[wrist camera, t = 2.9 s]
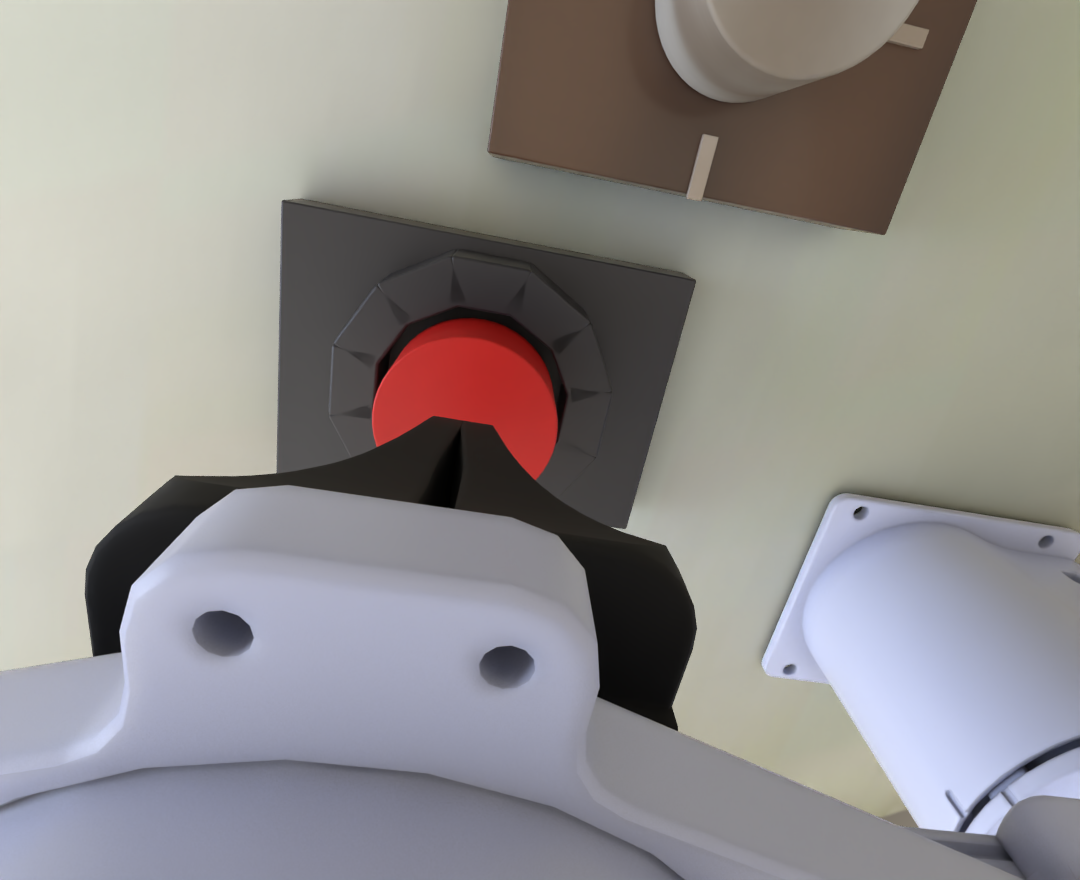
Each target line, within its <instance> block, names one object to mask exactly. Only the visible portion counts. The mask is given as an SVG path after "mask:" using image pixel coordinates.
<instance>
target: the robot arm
mask: <svg viewBox="0 0 1080 880" xmlns="http://www.w3.org/2000/svg"><path fill="white" fill-rule="evenodd" d="M862 506H863V508H862V510H861V511H860V512H858V513H857V514H854V511H855V510H856V509H857V508H859V507H862ZM1041 538H1042V539H1041ZM1040 539H1041V540H1040ZM1079 553H1080V533H1078V532H1077V531H1075V530H1073V529H1070V528H1064V527H1057V526H1051V525H1045V524H1039V523H1032V522H1026V521H1020V520H1013V519H1007V518H1001V517H995V516H988V515H982V514H976V513H969V512H963V511H957V510H951V509H944V508H938V507H932V506H925V505H919V504H913V503H906V502H900V501H894V500H888V499H881V498H875V497H869V496H862V495H856V494H850V493H842V494H839V495H837V496H835V497H834V498H833V499H832V500H831V501H830V503H829V505H828V507H827V509H826V512H825V514H824V516H823V519H822V521H821V523H820V526H819V528H818V530H817V533H816V535H815V537H814V540H813V542H812V544H811V547H810V549H809V551H808V554H807V556H806V558H805V561H804V563H803V565H802V568H801V570H800V572H799V575H798V577H797V579H796V582H795V584H794V586H793V589H792V591H791V593H790V596H789V598H788V600H787V603H786V605H785V607H784V610H783V612H782V614H781V617H780V619H779V621H778V624H777V626H776V628H775V631H774V633H773V635H772V638H771V640H770V642H769V645H768V647H767V649H766V652H765V654H764V656H763V659H762V663H761V664H762V667H763V669H764V671H765V673H766V674H767V675H768V676H772V677H778V678H786V679H794V680H802V681H810V682H818V683H826V684H830V685H831V687H832V688H833V690H834V691H835V693H836V695H837V696H838V698H839V699H840V701H841V703H842V704H843V706H844V708H845V709H846V711H847V712H848V714H849V716H850V717H851V719H852V720H853V722H854V724H855V725H856V727H857V729H858V730H859V732H860V733H861V735H862V737H863V738H864V740H865V741H866V743H867V745H868V746H869V748H870V750H871V751H872V753H873V754H874V756H875V758H876V759H877V761H878V762H879V764H880V766H881V767H882V769H883V771H884V772H885V774H886V775H887V777H888V779H889V780H890V782H891V783H892V785H893V787H894V788H895V790H896V792H897V793H898V795H899V796H900V798H901V800H902V801H903V803H904V804H905V806H906V808H907V809H908V811H909V812H910V814H911V816H912V817H913V819H914V820H915V822H916V824H917V825H918V827H919V828H913V827H903V826H898V825H895V824H893V823H891V822H888V821H886V820H884V819H881V818H879V817H877V816H874V815H872V814H870V813H867V812H865V811H863V810H860V809H858V808H856V807H853V806H851V805H849V804H846V803H844V802H842V801H839V800H837V799H834V798H832V797H830V796H827V795H825V794H823V793H820V792H818V791H816V790H813V789H811V788H809V787H806V786H804V785H802V784H799V783H797V782H795V781H792V780H790V779H788V778H785V777H783V776H781V775H778V774H776V773H774V772H771V771H769V770H767V769H764V768H762V767H760V766H757V765H755V764H753V763H750V762H748V761H746V760H743V759H741V758H739V757H736V756H734V755H732V754H729V753H727V752H725V751H722V750H720V749H718V748H715V747H713V746H711V745H708V744H706V743H704V742H701V741H699V740H697V739H694V738H692V737H690V736H687V735H685V734H683V733H680V732H678V726H677V723H676V719H675V716H674V712H673V709H672V704H673V702H674V699H675V696H676V693H677V691H678V688H679V685H680V683H681V680H682V677H683V674H684V672H685V669H686V666H687V663H688V661H689V658H690V655H691V653H692V650H693V645H694V640H695V635H696V630H697V626H696V618H695V610H694V605H693V603H692V600H691V598H690V595H689V593H688V591H687V588H686V585H685V583H684V581H683V578H682V576H681V574H680V572H679V569H678V567H677V566H676V564H675V562H674V560H673V558H672V556H671V554H670V553H669V551H668V549H667V547H666V546H665V545H662V544H658V543H655V542H652V541H649V540H646V539H642V538H639V537H636V536H633V535H629V534H626V533H623V532H621V531H618V530H616V529H614V528H611V527H609V526H607V525H604V524H602V523H600V522H597V521H595V520H593V519H591V518H589V517H587V516H585V515H584V514H582V513H580V512H578V511H577V510H575V509H573V508H572V507H570V506H568V505H567V504H565V503H564V502H562V501H561V500H559V499H558V498H556V497H555V496H554V495H552V494H551V493H550V492H549V491H547V490H546V489H545V488H544V487H542V486H541V485H540V484H539V483H538V482H537V481H536V480H534V479H533V478H532V477H531V476H530V474H529V473H528V472H527V471H526V470H525V469H524V468H523V467H522V466H521V465H520V464H519V463H518V461H517V460H516V459H515V458H514V456H513V455H512V454H511V452H510V451H509V450H508V448H507V447H506V445H505V444H504V442H503V440H502V439H501V437H500V436H499V434H498V432H497V431H496V429H495V428H494V426H493V425H489V424H482V423H476V422H470V421H464V420H457V419H451V418H445V417H439V416H432V417H430V418H429V419H427V420H425V421H424V422H422V423H421V424H419V425H417V426H416V427H414V428H413V429H411V430H409V431H407V432H406V433H404V434H402V435H401V436H399V437H397V438H395V439H393V440H391V441H389V442H387V443H385V444H383V445H381V446H378V447H376V448H374V449H372V450H370V451H368V452H365V453H363V454H360V455H357V456H354V457H351V458H348V459H345V460H342V461H339V462H335V463H331V464H327V465H322V466H317V467H312V468H307V469H303V470H298V471H292V472H284V473H276V474H266V475H252V476H174V477H173V478H172V479H170V480H169V481H168V482H166V483H165V484H164V485H163V486H162V487H161V488H159V489H158V490H157V491H156V492H155V493H153V494H152V495H151V496H150V497H149V498H147V499H146V500H145V501H144V502H143V503H142V504H141V505H139V506H138V507H137V508H136V509H135V510H134V511H132V512H131V513H130V514H129V515H128V516H127V517H126V518H124V519H123V520H122V521H121V522H120V523H119V524H117V525H116V526H115V527H114V528H113V529H112V530H111V531H110V532H109V533H108V534H107V535H106V536H105V537H104V538H103V539H102V540H101V541H100V543H99V544H98V545H97V546H96V547H95V550H94V552H93V554H92V557H91V559H90V561H89V563H88V566H87V568H86V580H85V599H86V607H87V614H88V622H89V629H90V637H91V644H92V652H93V657H88V658H82V659H75V660H69V661H63V662H56V663H50V664H44V665H37V666H31V667H25V668H18V669H12V670H6V671H0V880H1080V565H1079V564H1077V563H1076V562H1074V561H1075V559H1076V557H1077V556H1078V554H1079ZM789 664H791V665H790V666H788V667H785V666H787V665H789Z"/></svg>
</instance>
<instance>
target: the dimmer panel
mask: <svg viewBox="0 0 1080 880" xmlns="http://www.w3.org/2000/svg"><path fill="white" fill-rule="evenodd" d="M976 2H977V0H919V1H918V3H917V5H916V6H915V8H914V9H913V11H912V12H911V14H910V15H909V17H908V18H907V19H906V21H905V22H904V23H903V24H902V26H901V27H900V28H899V29H898V30H897V32H896V33H895V34H894V35H893V36H892V37H891V38H890V39H889V40H888V41H887V42H886V43H885V44H884V45H883V46H882V47H881V48H879V49H878V50H877V51H876V52H874V53H873V54H872V55H871V56H869V57H868V58H866V59H865V60H863V61H862V62H860V63H858V64H857V65H855V66H853V67H851V68H849V69H847V70H845V71H843V72H840V73H838V74H835V75H832V76H829V77H826V78H823V79H820V80H817V81H814V82H811V83H808V84H805V85H802V86H799V87H796V88H793V89H790V90H787V91H784V92H781V93H778V94H775V95H772V96H769V97H766V98H763V99H760V100H757V101H752V102H745V103H729V102H722V101H718V100H715V99H712V98H709V97H707V96H705V95H703V94H701V93H699V92H698V91H696V90H695V89H693V88H692V87H690V86H689V85H688V84H687V83H686V82H685V81H684V80H683V79H682V78H681V77H680V76H679V74H678V73H677V72H676V71H675V69H674V68H673V66H672V65H671V63H670V61H669V60H668V58H667V56H666V53H665V51H664V49H663V46H662V44H661V40H660V37H659V33H658V28H657V22H656V12H655V0H508V7H507V14H506V21H505V28H504V35H503V43H502V50H501V57H500V64H499V71H498V79H497V86H496V93H495V100H494V107H493V115H492V122H491V129H490V136H489V143H488V152H489V153H490V154H491V155H492V156H493V157H497V158H502V159H506V160H511V161H516V162H521V163H526V164H530V165H535V166H540V167H545V168H550V169H555V170H559V171H564V172H569V173H574V174H579V175H583V176H588V177H593V178H598V179H603V180H607V181H612V182H617V183H622V184H627V185H632V186H636V187H641V188H646V189H651V190H656V191H660V192H665V193H670V194H675V195H680V196H684V197H686V199H691V200H696V201H702V200H704V201H709V202H713V203H718V204H723V205H728V206H733V207H737V208H742V209H747V210H752V211H757V212H761V213H766V214H771V215H776V216H781V217H786V218H790V219H795V220H800V221H805V222H810V223H814V224H819V225H824V226H829V227H834V228H839V229H846V230H853V231H860V232H866V233H873V234H880V235H885V234H886V232H887V229H888V226H889V224H890V221H891V219H892V216H893V214H894V211H895V209H896V206H897V204H898V201H899V198H900V196H901V193H902V191H903V188H904V186H905V183H906V181H907V178H908V175H909V173H910V170H911V168H912V165H913V163H914V160H915V158H916V155H917V152H918V150H919V147H920V145H921V142H922V140H923V137H924V135H925V132H926V130H927V127H928V124H929V122H930V119H931V117H932V114H933V112H934V109H935V107H936V104H937V101H938V99H939V96H940V94H941V91H942V89H943V86H944V84H945V81H946V79H947V76H948V73H949V71H950V68H951V66H952V63H953V61H954V58H955V56H956V53H957V50H958V48H959V45H960V43H961V40H962V38H963V35H964V33H965V30H966V27H967V25H968V22H969V20H970V17H971V15H972V12H973V10H974V7H975V5H976Z"/></svg>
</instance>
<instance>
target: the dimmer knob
mask: <svg viewBox="0 0 1080 880" xmlns="http://www.w3.org/2000/svg"><path fill="white" fill-rule="evenodd" d="M918 1H919V0H655V12H656V22H657V28H658V33H659V37H660V40H661V44H662V46H663V49H664V51H665V53H666V56H667V58H668V60H669V61H670V63H671V65H672V66H673V68H674V69H675V71H676V72H677V73H678V74H679V76H680V77H681V78H682V79H683V80H684V81H685V82H686V83H687V84H688V85H689V86H690V87H692V88H693V89H695V90H696V91H698V92H699V93H701V94H703V95H705V96H707V97H709V98H712V99H715V100H718V101H722V102H729V103H745V102H752V101H757V100H760V99H763V98H766V97H769V96H772V95H775V94H778V93H781V92H784V91H787V90H790V89H793V88H796V87H799V86H802V85H805V84H808V83H811V82H814V81H817V80H820V79H823V78H826V77H829V76H832V75H835V74H838V73H840V72H843V71H845V70H847V69H849V68H851V67H853V66H855V65H857V64H858V63H860V62H862V61H863V60H865V59H866V58H868V57H869V56H871V55H872V54H873V53H874V52H876V51H877V50H878V49H879V48H881V47H882V46H883V45H884V44H885V43H886V42H887V41H888V40H889V39H890V38H891V37H892V36H893V35H894V34H895V33H896V32H897V30H898V29H899V28H900V27H901V26H902V24H903V23H904V22H905V21H906V19H907V18H908V17H909V15H910V14H911V12H912V11H913V9H914V8H915V6H916V5H917V3H918Z"/></svg>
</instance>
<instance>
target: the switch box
mask: <svg viewBox="0 0 1080 880" xmlns="http://www.w3.org/2000/svg"><path fill="white" fill-rule="evenodd" d="M695 283H696V280H695V279H693V278H691V277H689V276H687V275H686V274H684V273H681V272H676V271H671V270H666V269H661V268H655V267H650V266H645V265H640V264H635V263H630V262H624V261H619V260H614V259H609V258H604V257H599V256H594V255H588V254H583V253H578V252H573V251H568V250H563V249H557V248H552V247H547V246H542V245H537V244H532V243H526V242H521V241H516V240H511V239H506V238H501V237H496V236H490V235H485V234H480V233H475V232H470V231H465V230H459V229H454V228H449V227H444V226H439V225H434V224H429V223H423V222H418V221H413V220H408V219H403V218H398V217H392V216H387V215H382V214H377V213H372V212H367V211H361V210H356V209H351V208H346V207H341V206H336V205H331V204H325V203H320V202H315V201H310V200H305V199H292V200H283V201H282V207H281V261H280V315H279V369H278V424H277V473H284V472H292V471H298V470H303V469H307V468H312V467H317V466H322V465H327V464H331V463H335V462H339V461H342V460H345V459H348V458H351V457H354V456H357V455H360V454H363V453H365V452H368V451H370V450H372V449H374V448H376V447H377V446H376V442H375V439H374V435H373V428H372V410H373V404H374V399H375V396H376V393H377V390H378V388H379V386H380V384H381V382H382V380H383V378H384V377H385V375H386V374H387V372H388V371H389V369H390V368H391V366H392V365H393V363H394V362H395V360H396V359H397V357H398V356H399V355H400V353H401V352H402V350H403V349H404V347H405V346H406V345H407V344H408V343H409V342H410V341H411V340H412V339H413V338H414V337H416V336H417V335H418V334H419V333H421V332H422V331H424V330H426V329H427V328H429V327H431V326H433V325H436V324H438V323H441V322H444V321H448V320H453V319H459V318H476V319H484V320H488V321H492V322H496V323H498V324H501V325H504V326H506V327H508V328H510V329H511V330H513V331H515V332H517V333H518V334H519V335H521V336H522V337H523V338H525V339H526V340H527V341H528V342H529V343H530V344H531V345H532V346H533V347H534V348H535V350H536V351H537V352H538V353H539V355H540V356H541V358H542V360H543V361H544V363H545V365H546V367H547V370H548V372H549V375H550V378H551V382H552V387H553V393H554V399H555V405H556V411H557V418H558V432H557V439H556V444H555V447H554V451H553V454H552V456H551V458H550V460H549V462H548V464H547V466H546V467H545V469H544V471H543V472H542V473H541V474H540V476H539V477H538V478H537V479H536V481H537V482H538V483H539V484H540V485H541V486H542V487H544V488H545V489H546V490H547V491H549V492H550V493H551V494H552V495H554V496H555V497H556V498H558V499H559V500H561V501H562V502H564V503H565V504H567V505H568V506H570V507H572V508H573V509H575V510H577V511H578V512H580V513H582V514H584V515H585V516H587V517H589V518H591V519H593V520H595V521H597V522H600V523H602V524H604V525H607V526H609V527H615V528H622V529H626V527H627V524H628V520H629V516H630V513H631V509H632V506H633V502H634V499H635V495H636V492H637V488H638V485H639V481H640V478H641V474H642V471H643V467H644V463H645V460H646V456H647V453H648V449H649V446H650V442H651V439H652V435H653V432H654V428H655V425H656V421H657V418H658V414H659V411H660V407H661V403H662V400H663V396H664V393H665V389H666V386H667V382H668V379H669V375H670V372H671V368H672V365H673V361H674V358H675V354H676V350H677V347H678V343H679V340H680V336H681V333H682V329H683V326H684V322H685V319H686V315H687V312H688V308H689V305H690V301H691V298H692V294H693V290H694V287H695Z"/></svg>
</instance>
